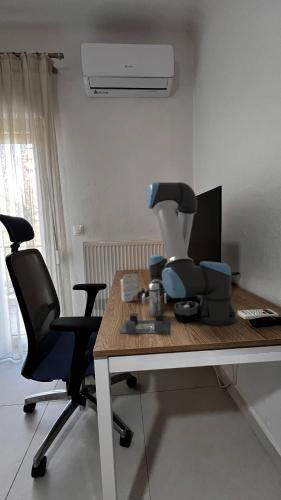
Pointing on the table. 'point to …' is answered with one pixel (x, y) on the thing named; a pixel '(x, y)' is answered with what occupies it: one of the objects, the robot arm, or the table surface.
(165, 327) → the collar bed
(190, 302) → the cpu cooler
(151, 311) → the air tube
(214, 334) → the table surface
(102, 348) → the table surface
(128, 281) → the ink cartridge box
